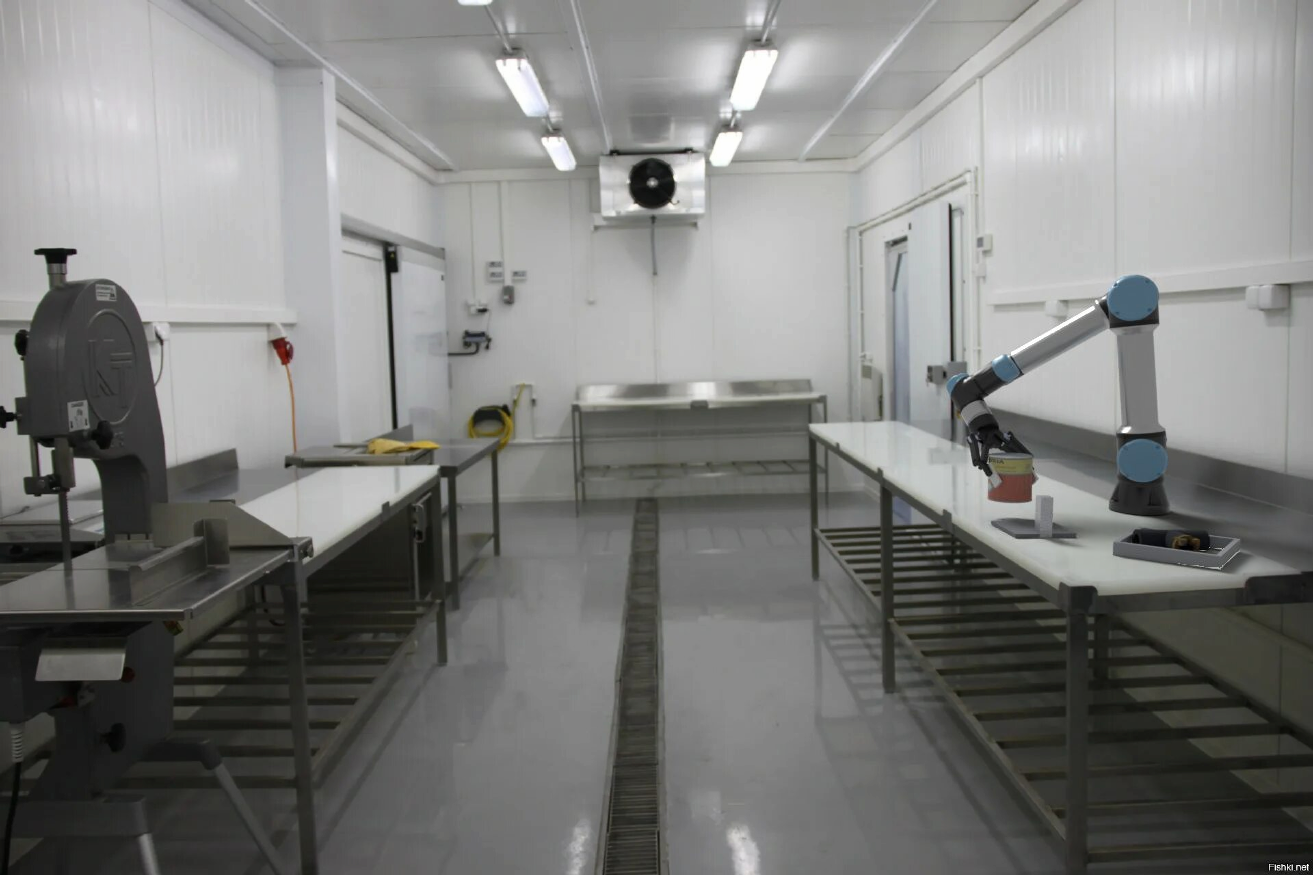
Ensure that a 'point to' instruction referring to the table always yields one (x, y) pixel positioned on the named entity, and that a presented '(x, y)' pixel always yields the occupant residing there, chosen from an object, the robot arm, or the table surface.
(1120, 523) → the table surface
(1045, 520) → the block
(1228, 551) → the parts corral
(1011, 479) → the canned food
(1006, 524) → the rubber mat
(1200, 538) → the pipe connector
